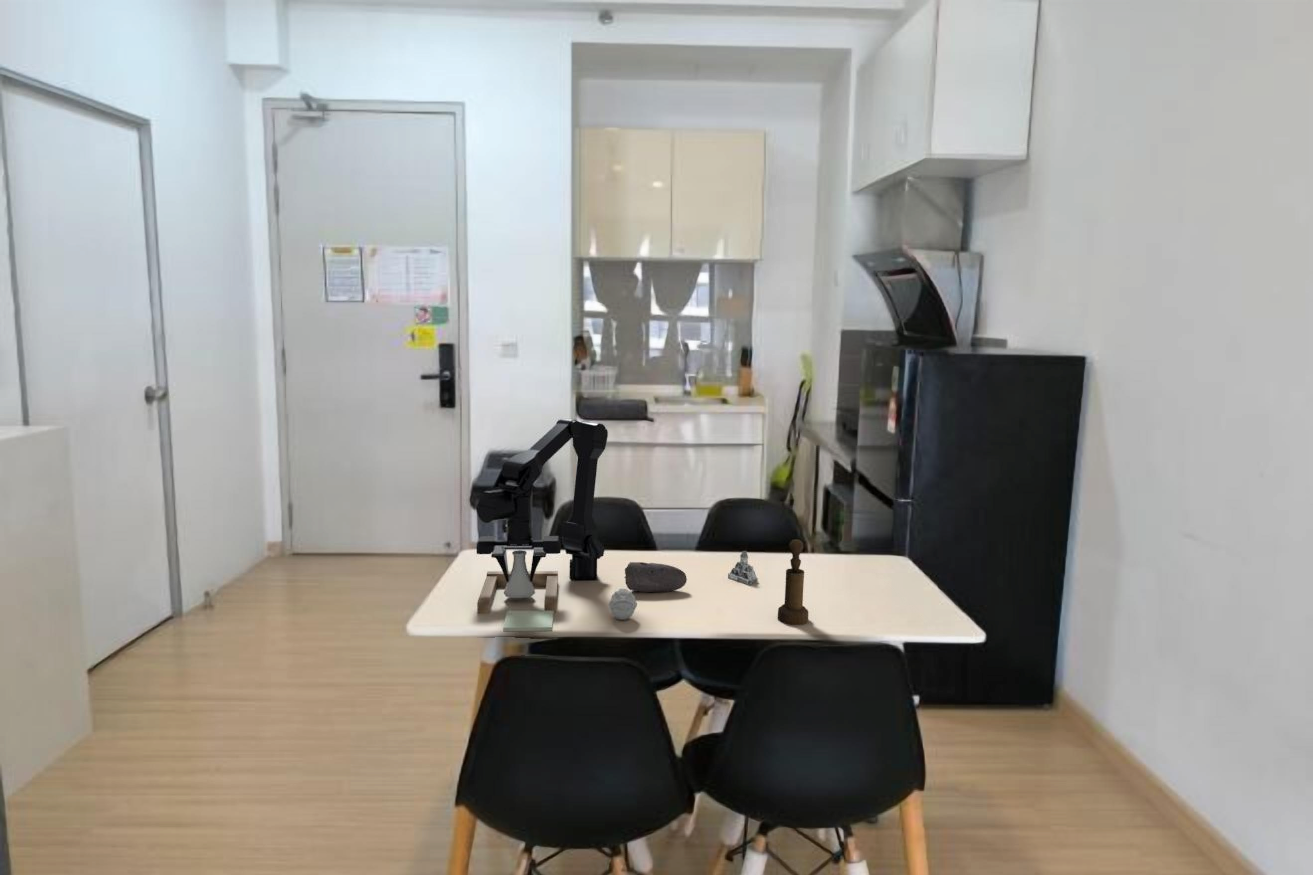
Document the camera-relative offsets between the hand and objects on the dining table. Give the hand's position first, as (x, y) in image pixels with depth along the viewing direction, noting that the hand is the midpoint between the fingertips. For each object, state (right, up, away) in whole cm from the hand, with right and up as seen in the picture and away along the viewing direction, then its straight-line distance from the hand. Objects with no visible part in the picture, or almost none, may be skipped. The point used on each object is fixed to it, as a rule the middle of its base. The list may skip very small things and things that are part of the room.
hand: (519, 581), depth 193 cm
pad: (+4, -6, -14) cm, 16 cm away
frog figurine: (+24, -7, -11) cm, 27 cm away
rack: (0, -4, +2) cm, 5 cm away
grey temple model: (+56, -3, +21) cm, 59 cm away
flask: (0, -3, 0) cm, 3 cm away
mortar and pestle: (+61, -7, -9) cm, 62 cm away
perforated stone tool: (+31, -4, +9) cm, 33 cm away
